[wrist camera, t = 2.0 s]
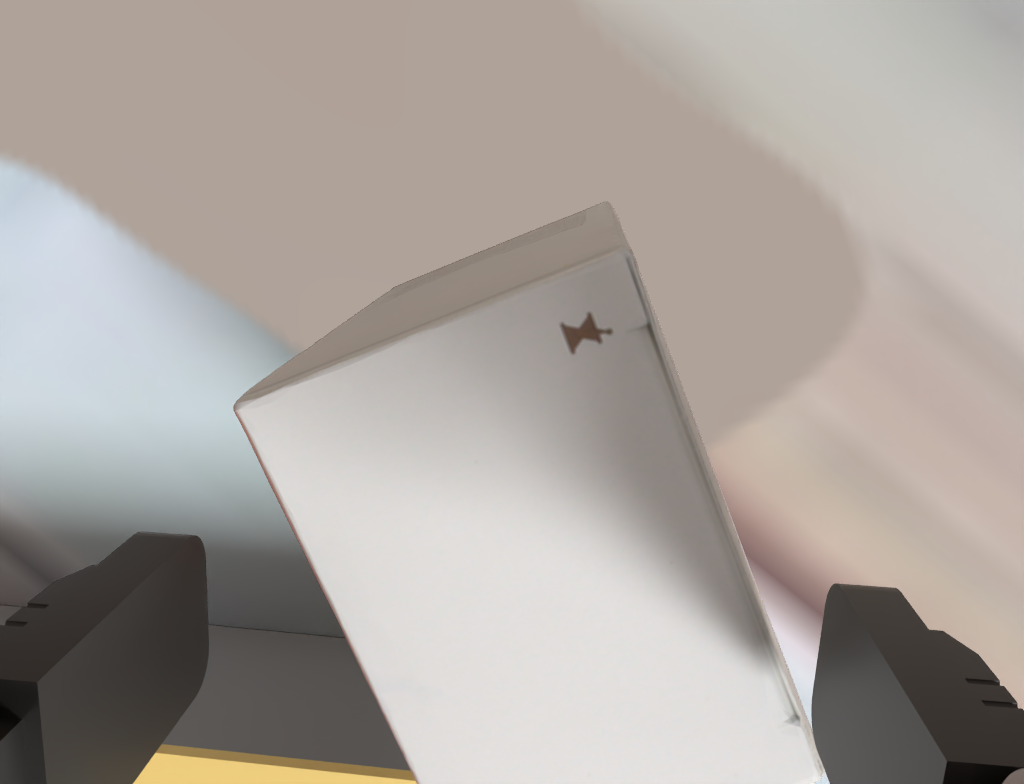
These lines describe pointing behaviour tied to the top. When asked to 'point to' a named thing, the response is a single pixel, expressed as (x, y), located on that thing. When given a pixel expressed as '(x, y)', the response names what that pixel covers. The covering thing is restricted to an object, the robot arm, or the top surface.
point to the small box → (530, 528)
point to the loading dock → (277, 717)
